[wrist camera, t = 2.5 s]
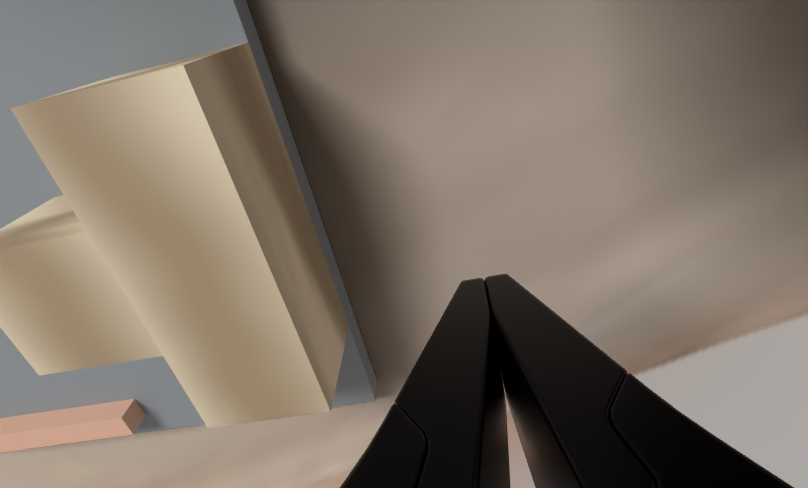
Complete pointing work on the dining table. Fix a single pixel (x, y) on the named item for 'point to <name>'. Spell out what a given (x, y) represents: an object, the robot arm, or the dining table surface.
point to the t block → (175, 242)
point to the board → (34, 185)
